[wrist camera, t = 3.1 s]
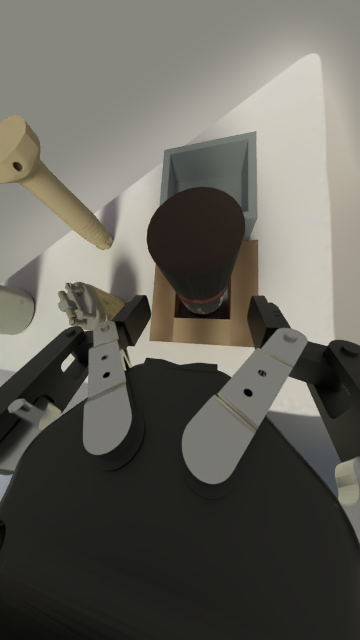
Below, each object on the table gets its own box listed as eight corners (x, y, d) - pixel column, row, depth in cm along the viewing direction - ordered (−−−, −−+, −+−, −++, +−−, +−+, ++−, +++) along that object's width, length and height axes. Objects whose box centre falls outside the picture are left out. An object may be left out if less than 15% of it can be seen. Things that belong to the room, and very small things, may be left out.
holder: (157, 340, 24) (149, 340, 21) (164, 259, 26) (157, 247, 22) (250, 346, 21) (258, 347, 18) (250, 254, 23) (257, 240, 20)
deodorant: (219, 320, 23) (237, 282, 8) (181, 314, 24) (137, 272, 9) (225, 282, 23) (252, 184, 9) (188, 279, 24) (156, 188, 10)
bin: (167, 248, 26) (157, 227, 21) (172, 183, 28) (164, 150, 23) (247, 243, 23) (257, 217, 18) (247, 172, 25) (256, 131, 20)
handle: (88, 245, 29) (-31, 152, 15) (113, 224, 29) (15, 107, 14) (99, 262, 28) (-18, 180, 14) (125, 241, 28) (32, 132, 13)
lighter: (104, 305, 27) (45, 285, 17) (121, 293, 27) (70, 265, 17) (122, 338, 25) (68, 337, 16) (140, 326, 25) (95, 316, 15)
